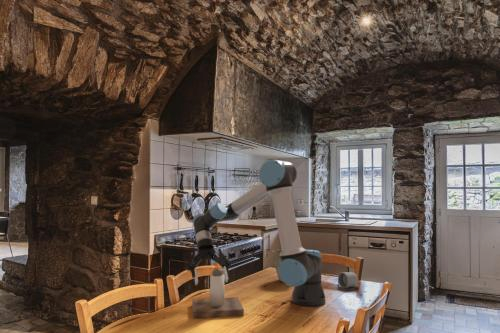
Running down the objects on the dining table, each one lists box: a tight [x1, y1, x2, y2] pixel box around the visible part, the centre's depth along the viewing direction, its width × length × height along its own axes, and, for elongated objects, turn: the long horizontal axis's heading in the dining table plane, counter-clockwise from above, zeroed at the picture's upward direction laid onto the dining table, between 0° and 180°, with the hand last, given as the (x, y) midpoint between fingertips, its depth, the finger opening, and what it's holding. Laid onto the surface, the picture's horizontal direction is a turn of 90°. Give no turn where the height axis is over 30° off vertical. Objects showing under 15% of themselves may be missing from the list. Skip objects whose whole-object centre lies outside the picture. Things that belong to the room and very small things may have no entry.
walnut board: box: [191, 296, 245, 319], centre depth 149 cm, size 20×16×2 cm
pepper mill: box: [209, 267, 225, 307], centre depth 150 cm, size 6×6×15 cm
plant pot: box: [272, 249, 284, 283], centre depth 197 cm, size 15×15×16 cm
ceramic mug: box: [337, 271, 359, 289], centre depth 187 cm, size 11×8×8 cm
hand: (212, 282), depth 156 cm, fingers open, 13 cm apart
